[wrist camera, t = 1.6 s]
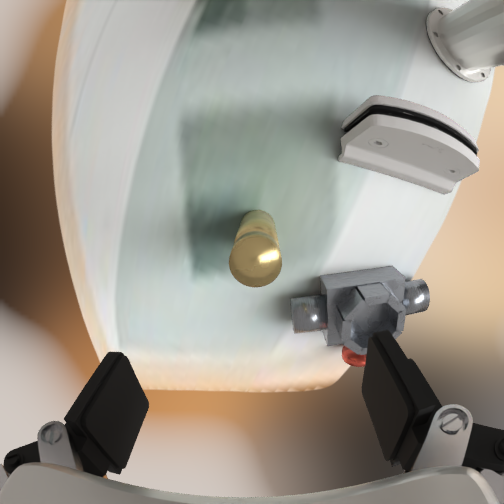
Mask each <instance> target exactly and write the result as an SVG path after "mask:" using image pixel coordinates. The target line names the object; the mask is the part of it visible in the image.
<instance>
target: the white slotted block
mask: <svg viewBox="0 0 504 504" xmlns="http://www.w3.org/2000/svg"><path fill="white" fill-rule="evenodd" d="M341 129H344V131H345V132H347V133H346V134H344V136H343V137H342V138H341V147H342V154H341V155H340V156H339V157H338V161H339V162H343V163H347V164H351V165H354V166H358V167H362V168H365V169H369V170H372V171H376V172H379V173H383V174H386V175H389V176H392V177H396V178H399V179H402V180H405V181H408V182H411V183H414V184H417V185H420V186H422V187H425V188H428V189H431V190H434V191H436V192H439V193H442V194H447V193H450V192H452V190H453V188H454V186H455V184H456V183H457V182H458V181H460V180H462V179H464V178H466V177H468V176H470V175H472V174H474V173H476V172H478V171H479V162H480V160H479V158H478V157H477V152H478V147H477V144H476V141H475V139H474V138H473V137H472V136H471V135H470V134H469V133H468V132H467V131H466V130H465V129H464V128H463V127H462V126H460V125H459V124H458V123H456V122H455V121H453V120H452V119H450V118H448V117H447V116H445V115H443V114H441V113H439V112H437V111H435V110H433V109H430V108H428V107H425V106H423V105H420V104H417V103H414V102H410V101H406V100H402V99H398V98H393V97H386V96H379V95H375V96H371V97H370V98H369V99H367V100H366V101H365V102H364V103H363V104H362V105H361V106H360V107H358V108H357V109H356V110H355V111H354V112H353V113H352V114H351V115H349V116H348V117H347V118H346V119H345V120H344V122H343V125H342V128H341Z"/></svg>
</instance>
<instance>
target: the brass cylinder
mask: <svg viewBox="0 0 504 504" xmlns="http://www.w3.org/2000/svg"><path fill="white" fill-rule="evenodd" d="M229 267H230V270H231V273H232V275H233V276H234V277H235V279H236V280H237V281H239V282H240V283H242V284H244V285H246V286H249V287H262V286H265V285H268V284H270V283H271V282H273V281H274V280H275V279H276V278H277V276H278V275H279V273H280V271H281V267H282V259H281V253H280V248H279V243H278V238H277V233H276V228H275V223H274V220H273V218H272V217H271V216H270V215H269V214H268V213H267V212H265V211H262V210H253V211H250V212H248V213H247V214H246V215H245V216H244V217H243V219H242V221H241V224H240V227H239V230H238V233H237V236H236V239H235V242H234V245H233V248H232V251H231V254H230V258H229Z"/></svg>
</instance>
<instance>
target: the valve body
mask: <svg viewBox="0 0 504 504" xmlns="http://www.w3.org/2000/svg"><path fill="white" fill-rule="evenodd" d="M405 279H406V278H405V277H404V276H403V275H402V274H401V273H400V272H399V271H398V270H397V269H396V268H395V267H393V266H388V267H381V268H374V269H367V270H360V271H352V272H345V273H337V274H329V275H321V295H315V296H307V297H299V298H291V312H292V322H293V329H294V334H297V333H305V332H312V331H320V330H322V331H323V334H324V337H325V340H326V344H327V346H331V345H337V344H343V345H344V347H343V349H342V358H343V360H344V361H345V362H346V363H347V364H349V365H351V366H356V367H362V366H365V362H366V354H367V346H368V339H369V337H372V336H373V333H374V332H379V331H384V330H389V331H390V333H391V334H392V336H393V337H394V339H396V338H397V337H398V336H399V335H400V334H401V333H402V332H401V331H403V328H404V322H405V316H406V315H409V314H414V313H419V312H423V311H426V310H427V308H428V306H429V301H430V295H429V289H428V286H427V284H426V283H425V281H424V280H422V279H419V280H413V281H407V282H405Z"/></svg>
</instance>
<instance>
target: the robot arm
mask: <svg viewBox="0 0 504 504" xmlns="http://www.w3.org/2000/svg"><path fill="white" fill-rule="evenodd" d="M426 25H427V32H428V35H429V38H430V41H431V43H432V45H433V47H434V49H435V50H436V52H437V54H438V55H439V56H440V58H441V59H442V60H443V62H444V63H445V64H446V65H447V66H448V67H449V68H450V69H451V70H452V71H453V72H454V73H455V74H457V75H458V76H459V77H461V78H463V79H464V80H467V81H469V82H481V81H484V80H485V79H487V78H488V76H489V74H490V71H491V68H492V67H496V66H500V65H504V0H469V1H467V2H466V3H464V4H462V5H461V6H459V7H457V8H456V9H454V10H451V9H448V8H436V9H435V10H433V11H432V12H431V13H430V14H429V15H428V17H427V22H426ZM362 394H363V397H364V400H365V403H366V406H367V408H368V411H369V414H370V417H371V419H372V422H373V425H374V428H375V431H376V434H377V437H378V440H379V443H380V446H381V448H382V452H383V455H384V458H385V460H386V461H389V460H390V462H391V465H392V467H393V466H396V465H399V464H401V465H402V468H403V469H404V470H405V471H404V473H403V474H400V475H397V476H393V477H389V478H385V479H381V480H377V481H373V482H369V483H365V484H361V485H356V486H351V487H346V488H341V489H336V490H329V491H323V492H317V493H309V494H301V495H290V496H277V497H255V498H254V497H253V498H252V497H251V498H239V497H237V498H236V497H211V496H198V495H189V494H180V493H172V492H166V491H160V490H154V489H149V488H144V487H139V486H134V485H130V484H125V483H121V482H118V481H114V480H110V479H108V478H107V475H106V473H107V470H108V471H109V472H112V473H116V474H120V473H121V471H122V469H124V468H125V467H126V465H127V462H128V460H129V457H130V454H131V452H132V449H133V446H134V444H135V441H136V439H137V436H138V433H139V431H140V428H141V426H142V423H143V421H144V418H145V416H146V413H147V411H148V408H149V402H148V399H147V398H146V396H145V394H144V392H143V390H142V388H141V385H140V383H139V381H138V379H137V377H136V375H135V373H134V371H133V368H132V366H131V364H130V362H129V359H128V358H127V357H126V356H124V354H123V353H121V352H108V353H107V355H106V356H105V357H104V359H103V360H102V362H101V363H100V365H99V366H98V368H97V369H96V370H95V372H94V373H93V375H92V376H91V378H90V379H89V381H88V383H87V384H86V385H85V387H84V388H83V390H82V392H81V393H80V394H79V396H78V397H77V399H76V401H75V402H74V404H73V405H72V407H71V408H70V410H69V411H68V413H67V415H66V416H65V418H64V420H65V421H66V424H65V425H64V424H63V423H61V422H59V421H52V422H48V423H46V424H45V425H44V426H42V427H41V429H40V430H39V432H38V438H37V439H38V441H36V442H33V443H30V444H28V445H25V446H22V447H19V448H17V449H14V450H12V451H10V452H9V453H8V454H7V455H6V457H5V459H4V466H3V465H2V464H0V504H504V430H501V429H496V428H492V427H487V426H483V425H479V424H475V423H472V422H473V419H472V416H471V414H470V412H469V411H468V410H467V409H466V408H464V407H463V406H460V405H453V404H451V405H446V406H444V407H442V406H441V404H440V402H439V400H438V399H437V397H436V396H435V394H434V392H433V390H432V389H431V387H430V386H429V384H428V382H427V381H426V379H425V377H424V376H423V374H422V373H421V371H420V370H419V368H418V366H417V365H416V363H415V362H414V361H413V360H412V359H407V357H406V356H405V354H404V352H403V351H402V349H401V348H400V346H399V345H398V343H397V342H396V340H395V339H394V337H393V336H392V334H391V333H390V331H389V330H384V331H379V332H374V333H373V336H372V337H369V339H368V346H367V354H366V362H365V370H364V376H363V383H362Z"/></svg>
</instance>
